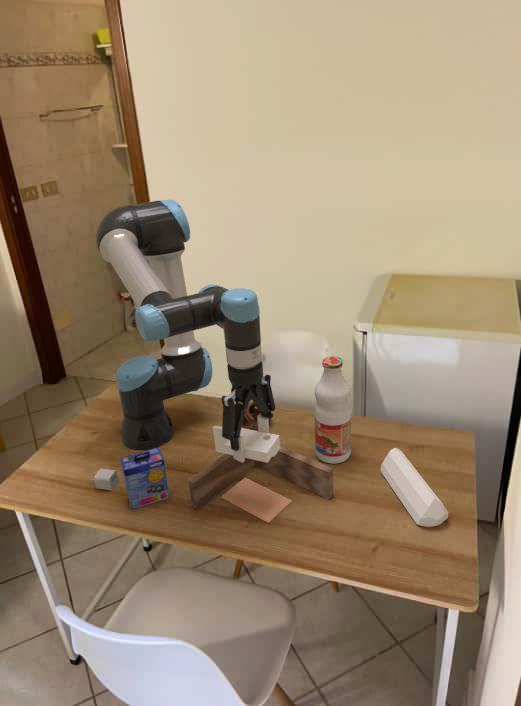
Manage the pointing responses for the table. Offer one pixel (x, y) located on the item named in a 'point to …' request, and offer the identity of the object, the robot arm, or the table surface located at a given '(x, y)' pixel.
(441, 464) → the table surface
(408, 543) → the table surface
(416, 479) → the crystal
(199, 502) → the corner walls
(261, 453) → the bracket
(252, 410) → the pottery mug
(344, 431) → the fruit juice
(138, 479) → the ink cartridge box
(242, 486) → the pad
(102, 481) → the usb wall charger
